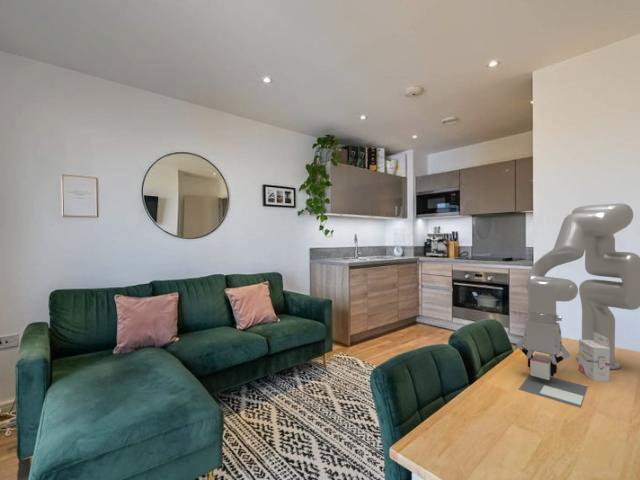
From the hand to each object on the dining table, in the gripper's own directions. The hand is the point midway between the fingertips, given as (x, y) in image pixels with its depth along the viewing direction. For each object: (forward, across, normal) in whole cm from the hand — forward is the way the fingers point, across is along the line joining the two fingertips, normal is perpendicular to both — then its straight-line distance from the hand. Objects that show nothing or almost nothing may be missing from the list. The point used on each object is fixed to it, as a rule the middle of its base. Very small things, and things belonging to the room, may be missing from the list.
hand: (542, 371), depth 105 cm
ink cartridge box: (+4, -12, -16) cm, 20 cm away
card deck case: (+1, 0, 0) cm, 1 cm away
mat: (+3, -4, +5) cm, 7 cm away
